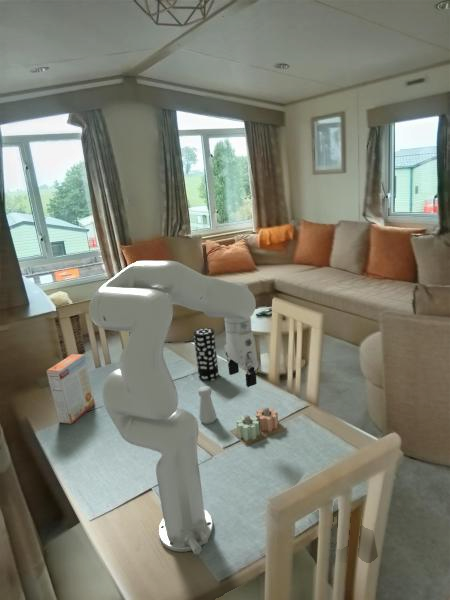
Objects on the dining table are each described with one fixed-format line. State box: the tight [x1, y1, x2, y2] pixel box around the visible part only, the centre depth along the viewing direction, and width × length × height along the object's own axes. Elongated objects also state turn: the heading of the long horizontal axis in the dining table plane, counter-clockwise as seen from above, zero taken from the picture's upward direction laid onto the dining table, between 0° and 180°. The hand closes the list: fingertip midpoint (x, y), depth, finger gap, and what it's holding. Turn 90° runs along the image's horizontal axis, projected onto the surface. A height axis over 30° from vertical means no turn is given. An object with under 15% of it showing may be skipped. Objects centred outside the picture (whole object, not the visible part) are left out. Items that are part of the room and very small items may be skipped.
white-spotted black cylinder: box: [192, 327, 220, 382], centre depth 169 cm, size 8×8×20 cm
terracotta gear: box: [255, 407, 279, 432], centre depth 132 cm, size 7×7×4 cm
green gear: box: [235, 414, 260, 441], centre depth 128 cm, size 7×7×4 cm
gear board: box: [229, 407, 287, 447], centre depth 130 cm, size 10×15×7 cm, turn 120°
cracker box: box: [46, 353, 96, 425], centre depth 150 cm, size 14×6×21 cm, turn 161°
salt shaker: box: [197, 385, 217, 425], centre depth 137 cm, size 6×6×13 cm
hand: (242, 379), depth 123 cm, fingers open, 9 cm apart
